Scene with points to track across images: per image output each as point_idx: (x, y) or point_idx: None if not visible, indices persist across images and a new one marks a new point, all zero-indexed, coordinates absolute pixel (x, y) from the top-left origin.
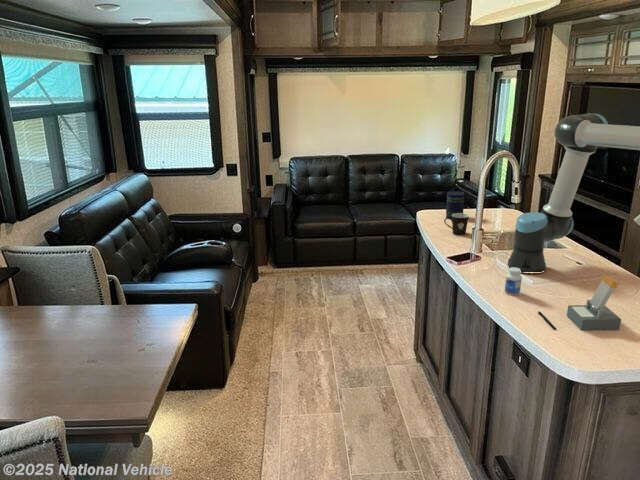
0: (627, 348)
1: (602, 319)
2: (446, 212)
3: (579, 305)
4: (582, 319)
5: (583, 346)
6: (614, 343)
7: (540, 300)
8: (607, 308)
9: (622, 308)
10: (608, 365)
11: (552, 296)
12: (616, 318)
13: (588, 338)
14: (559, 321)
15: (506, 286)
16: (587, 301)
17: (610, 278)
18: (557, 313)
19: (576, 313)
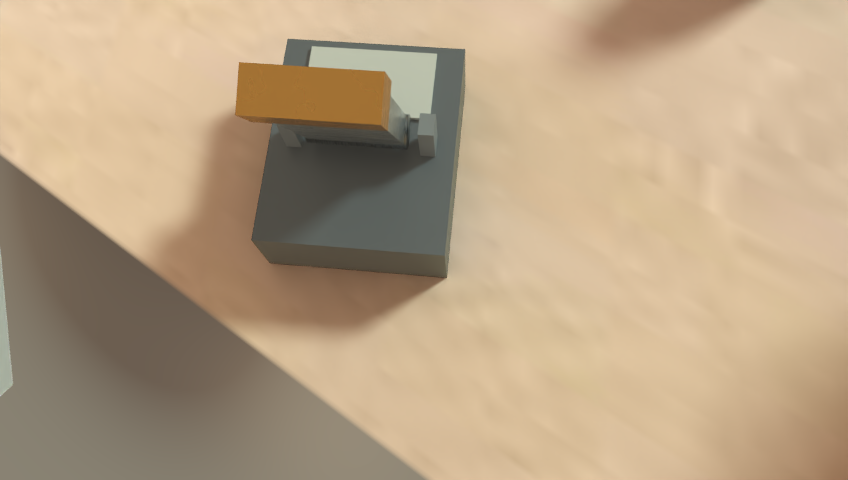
0: (100, 191)
1: (270, 138)
2: None
3: (455, 108)
4: (290, 39)
5: (165, 14)
6: (156, 160)
7: (671, 42)
8: (393, 244)
9: (527, 464)
10: (6, 33)
11: (727, 130)
12: (263, 218)
13: (225, 71)
14: (410, 25)
15: None
16: (426, 116)
17: (309, 82)
18: (499, 56)
19: (360, 43)
